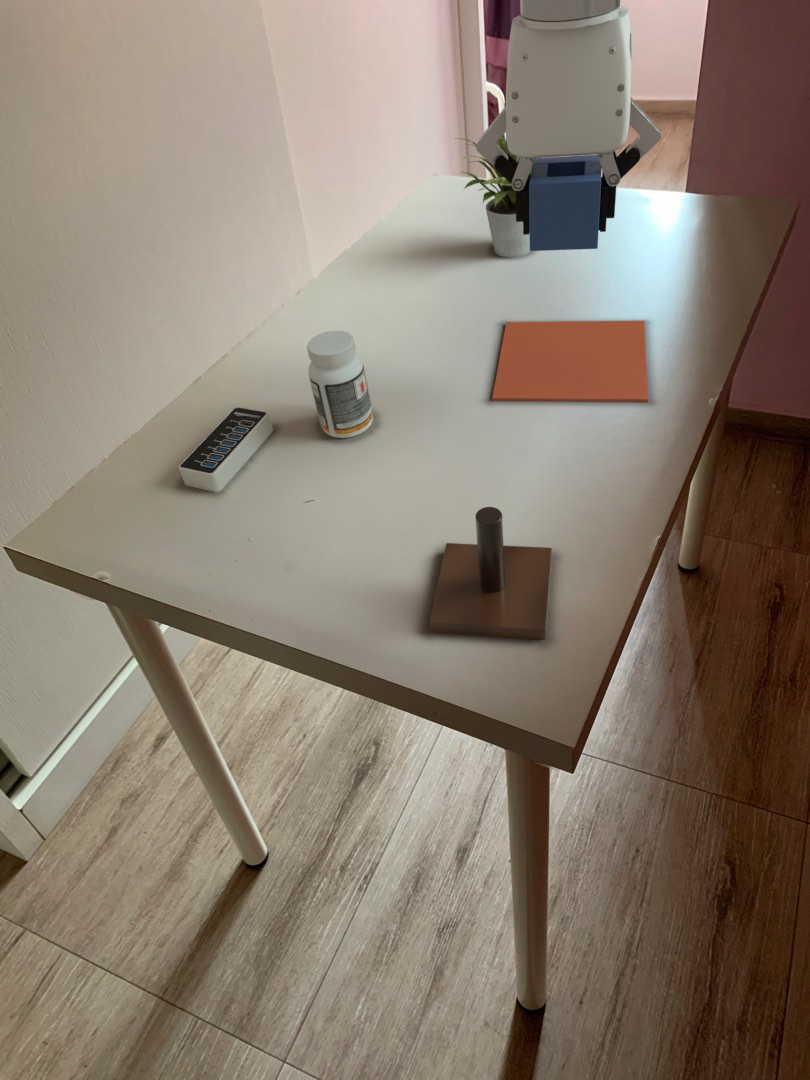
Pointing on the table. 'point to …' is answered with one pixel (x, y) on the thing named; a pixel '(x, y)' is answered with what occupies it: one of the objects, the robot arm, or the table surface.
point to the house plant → (502, 210)
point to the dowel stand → (492, 585)
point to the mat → (573, 362)
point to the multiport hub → (226, 449)
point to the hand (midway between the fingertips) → (564, 225)
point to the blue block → (564, 203)
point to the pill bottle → (339, 384)
